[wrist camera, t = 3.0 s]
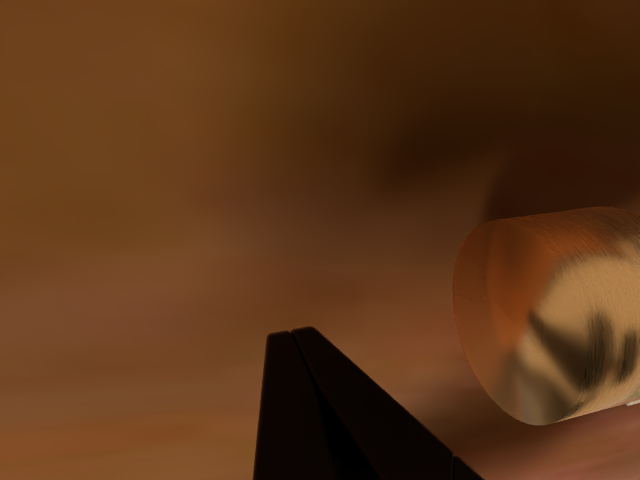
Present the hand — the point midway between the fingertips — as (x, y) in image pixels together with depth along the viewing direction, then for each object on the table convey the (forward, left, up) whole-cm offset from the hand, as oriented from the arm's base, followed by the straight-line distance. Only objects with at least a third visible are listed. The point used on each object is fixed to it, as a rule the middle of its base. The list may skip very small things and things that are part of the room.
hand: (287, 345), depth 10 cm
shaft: (0, -11, -2) cm, 11 cm away
